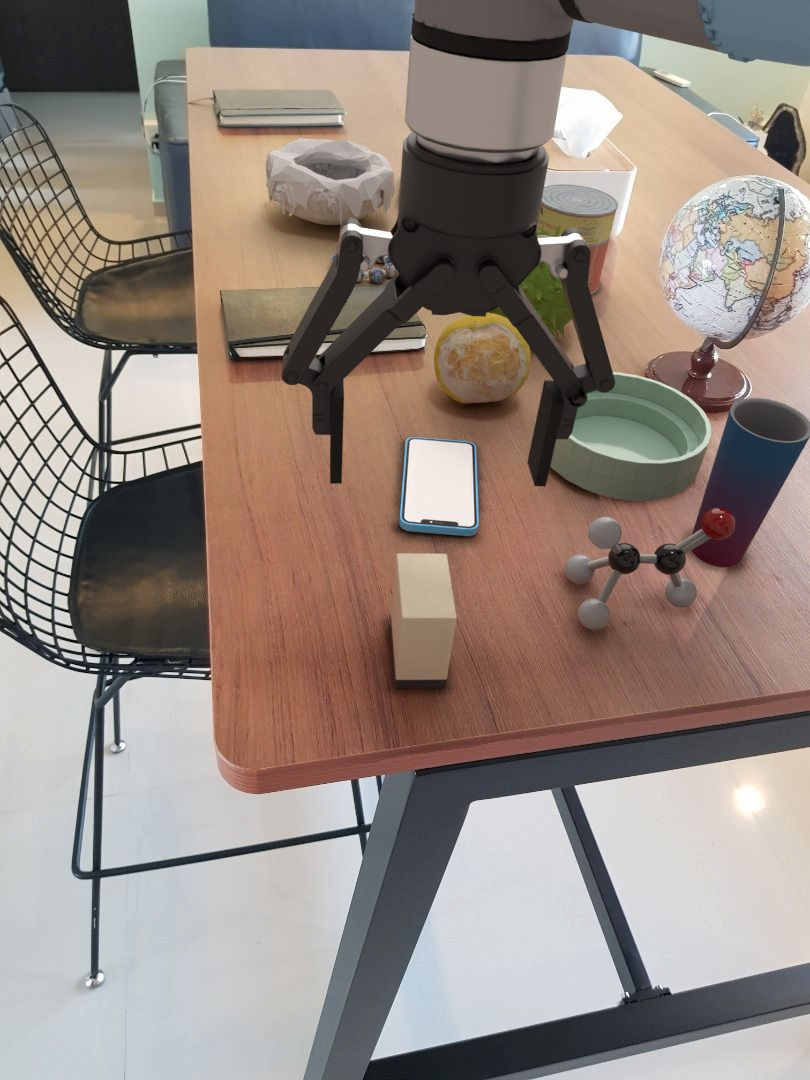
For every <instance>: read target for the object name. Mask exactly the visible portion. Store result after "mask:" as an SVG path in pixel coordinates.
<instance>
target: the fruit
mask: <svg viewBox="0 0 810 1080" xmlns="http://www.w3.org/2000/svg"><path fill="white" fill-rule="evenodd" d="M531 355H532V353H531V348H530V347H529V345H528V344H527V343H526V341H525V340H524V338H523V337H522V336H521V334H520V333H519V331H518V330H517V329H516V327H514V326H513V325H512V324H511V322H510V321H509V320H508V319H507V318H505V317H503V316H500V315H497V314H492V313H489V312H487V313H486V317H482V316H470V315H467V314H466V315H464V316H461V317H459V318H456V319H455V320H453V321H451V322H450V323H449V324H448V325H446V326H445V328H444V329H443V330H442V332H441V333H440V334H439V336H438V339H437V341H436V344H435V348H434V353H433V366H434V373H435V377H436V380H437V382H438V384H439V386H440V388H441V389H442V391H443V392H444V393H445V394H446V395H447V396H448V397H450V398H451V399H452V400H453V401H455V402H458V403H460V404H477V403H478V404H480V403H490V402H493V403H494V402H495V403H496V402H500V401H503V400H506V399H509V398H510V397H512V396H514V395H515V394H517V392H519V390H520V389H521V388H523V387H524V384H525V383H526V382H527V380H528V377H529V375H530V371H531V362H532V360H531V359H532V356H531Z"/></svg>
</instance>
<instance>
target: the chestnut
mask: <svg viewBox="0 0 810 1080" xmlns="http://www.w3.org/2000/svg"><path fill="white" fill-rule="evenodd" d="M559 231H560V226H559V228H558V230H557V231H556V233H555V234H550V233H545V232H544V229H543V226H542V230H541V233H537V238H548V237H560V236H559ZM591 284H592V283H589V282H588V285H591ZM520 287H521V289H522V290H523V292H524V294H525V296H526V297H527V299H528V300H529V302H530V303H531V304H532V306H533V307H534V309H535V310H536V312H537V313H538V315H539V316H540V317H541V319H542V320H543V322H544V323H545V325H546V326H547V328H548V329H549V331H550V332H551V333H552V335H553V336H554V337H555V334H556V336H557V337H559V332H560V334H561V335H562V336H563V338H564V339H566V335H565V329H564V328H565V326H566V325H567V324H569V323H570V322H571V321H572V317H571V313H570V310H569V307H568V304H567V300H566V297H565V294H564V290H563V287H562V284H561V280H560V279H559V278H555V277H554V276H552V274H551V272H550V270H549V268H548V265H547V264H546V263H544V262H539V264H538V266H537V267H536V268H535V269H534V270H533V271H532V273H531V274H530V275H529V276H528V277H527V278H526V279H525V280H524V281H523V282H522V283H521V284H520ZM488 313H492V314H497V315H500V316H503V317H505V318H507V317H506V315H505V314H504V313H503V311H502V310H501V309H500V307H498V308H496V309H495V310H493V311H491V312H488ZM507 319H508V318H507ZM558 331H559V332H558Z"/></svg>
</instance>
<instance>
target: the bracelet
mask: <svg viewBox="0 0 810 1080" xmlns="http://www.w3.org/2000/svg"><path fill="white" fill-rule="evenodd" d="M336 255H337V253H334V254H333V255H332V256H331V257H330V266H331V265H332V263H333V261H334V260H335V258H336ZM375 262H377V263H379V264H383V263H384V265H383V267H382V269H380V268H379V267H372V268H371V269H370V270H368V271H359V276H358V279H357V282H356V283H360V282H362V280H363V279H365V280H367V279H369V280H370V282H372V283H375V284H377V283H380V282H381V281H382V280H383V278H384V277H386V278H389V279H392V278H393V277H394V276H395V275H396V274H397V273H398V272H397V270H396V269H395V267H394V266H393V264H392V263H391V261H390V259H389V256H382V257H379V258H378V259H377V260H376V261H375Z"/></svg>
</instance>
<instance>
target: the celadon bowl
mask: <svg viewBox="0 0 810 1080" xmlns="http://www.w3.org/2000/svg"><path fill="white" fill-rule="evenodd" d="M613 375H614V379H615V386H614V388H613V389H612V390H611V391H609V392H606V393H602V392H599V391H598V390H596V391H593V392H589V393H587V394H586V395H587V401H586V403H585V404H584V405H583V406H581V407H579V408H578V410H577V414H576V418H575V422H574V427H573V431H572V434H571V435H570V436H569V438H568V439H556V443H555V447H554V452H553V456H552V461H551V465H550V469H552V470H553V471H555V473H557V474H558V475H559V476H561V477H562V478H563V479H564V480H566V481H568V482H570V483H571V484H573V485H575V486H577V487H579V488H581V489H582V490H585V491H588V492H592V493H594V494H598V495H600V496H602V497H603V496H604V497H606V498H612V499H618V500H623V501H629V502H630V501H631V502H632V501H633V502H651V501H657V500H663V499H669V498H671V497H673V496H676V495H678V494H680V493H683V492H685V491H686V490H687V489H688V488H689V487H690V486H691V485H692V484H693V483H695V482H696V479H697V477H698V474H699V471H700V468H701V465H702V463H703V461H704V457H705V456H706V453H707V449H708V447H709V444H710V442H711V439H712V437H713V430H712V423H711V420H710V419H709V417H708V416H707V414H706V412H705V410H704V409H702V407H700V406H699V405H698V404H697V403H696V402H695V401H694V400H693V399H692V398H691V397H689V396H687V395H686V394H685V393H684V392H682V391H680V390H678V389H676V388H674V387H672V386H670V385H668V384H665V383H663V382H660V381H658V380H655V379H652V378H648V377H645V376H641V375H638V374H631V373H626V372H620V371H619V372H618V371H613Z"/></svg>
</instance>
